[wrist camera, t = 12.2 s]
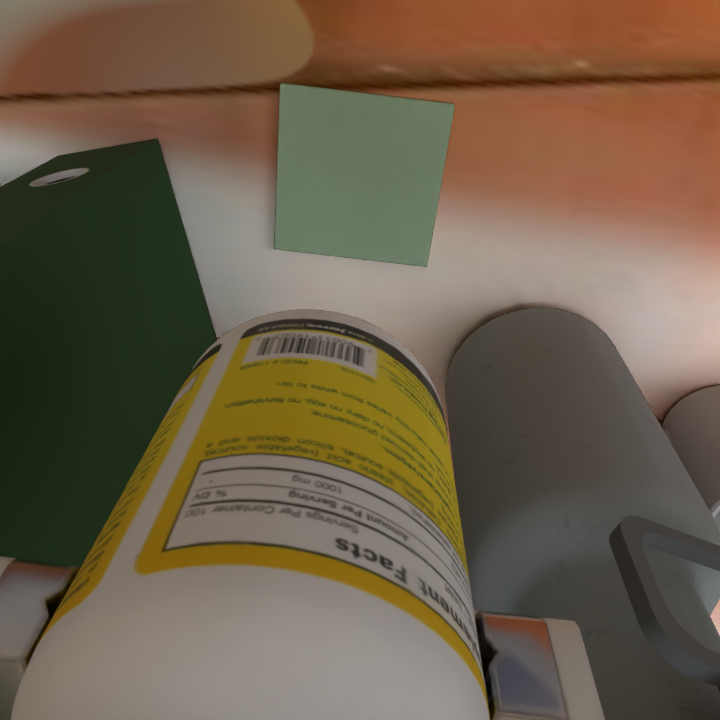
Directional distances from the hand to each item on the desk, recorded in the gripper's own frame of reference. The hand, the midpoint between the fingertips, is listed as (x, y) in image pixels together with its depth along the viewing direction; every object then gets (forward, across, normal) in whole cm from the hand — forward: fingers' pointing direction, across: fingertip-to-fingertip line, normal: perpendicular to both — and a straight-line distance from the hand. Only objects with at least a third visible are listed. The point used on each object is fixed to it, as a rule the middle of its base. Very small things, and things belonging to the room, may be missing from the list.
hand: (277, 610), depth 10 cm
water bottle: (+25, -11, +10) cm, 29 cm away
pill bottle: (+6, 0, 0) cm, 6 cm away
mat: (+25, 0, 0) cm, 25 cm away
